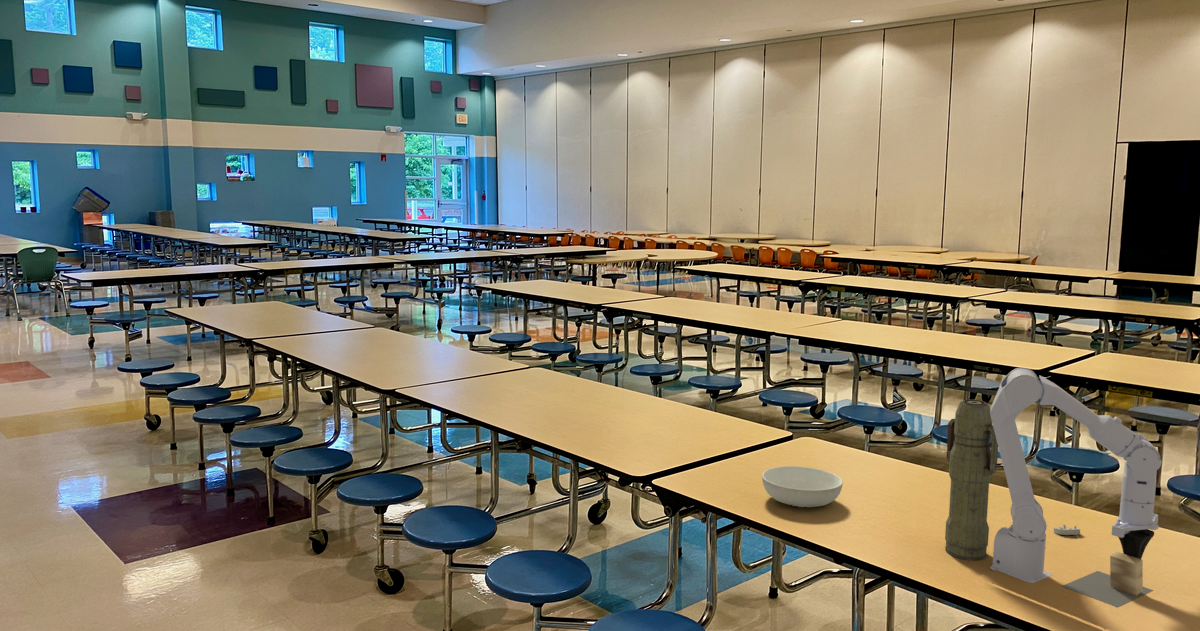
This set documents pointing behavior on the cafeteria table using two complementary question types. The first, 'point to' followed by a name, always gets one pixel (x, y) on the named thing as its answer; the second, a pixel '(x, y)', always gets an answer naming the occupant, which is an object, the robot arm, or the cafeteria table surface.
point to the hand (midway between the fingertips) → (1131, 563)
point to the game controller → (1067, 530)
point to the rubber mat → (1102, 589)
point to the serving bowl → (802, 485)
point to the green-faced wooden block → (1126, 573)
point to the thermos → (970, 479)
